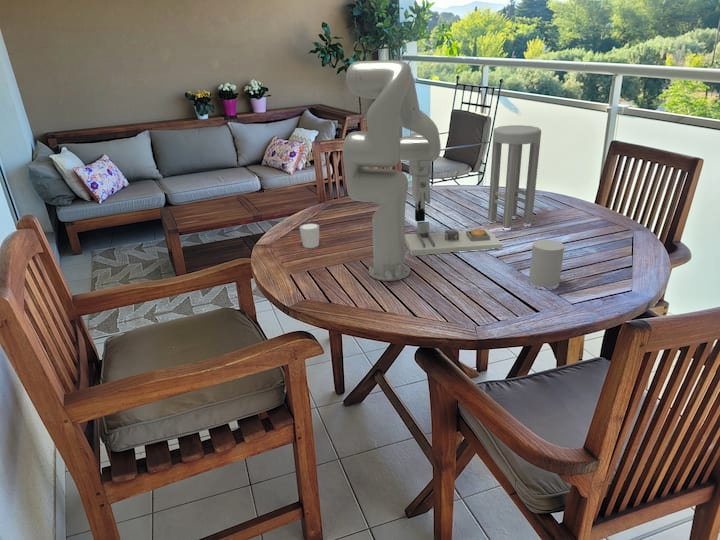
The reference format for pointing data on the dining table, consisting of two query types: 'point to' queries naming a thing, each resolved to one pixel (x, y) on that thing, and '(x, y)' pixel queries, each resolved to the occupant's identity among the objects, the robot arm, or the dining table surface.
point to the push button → (477, 233)
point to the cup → (546, 263)
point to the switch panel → (450, 242)
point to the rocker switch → (451, 233)
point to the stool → (514, 171)
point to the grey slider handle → (423, 229)
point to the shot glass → (310, 235)
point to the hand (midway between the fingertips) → (419, 220)
